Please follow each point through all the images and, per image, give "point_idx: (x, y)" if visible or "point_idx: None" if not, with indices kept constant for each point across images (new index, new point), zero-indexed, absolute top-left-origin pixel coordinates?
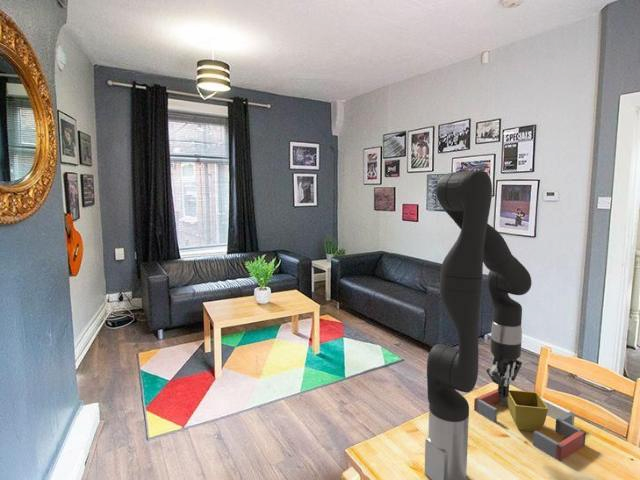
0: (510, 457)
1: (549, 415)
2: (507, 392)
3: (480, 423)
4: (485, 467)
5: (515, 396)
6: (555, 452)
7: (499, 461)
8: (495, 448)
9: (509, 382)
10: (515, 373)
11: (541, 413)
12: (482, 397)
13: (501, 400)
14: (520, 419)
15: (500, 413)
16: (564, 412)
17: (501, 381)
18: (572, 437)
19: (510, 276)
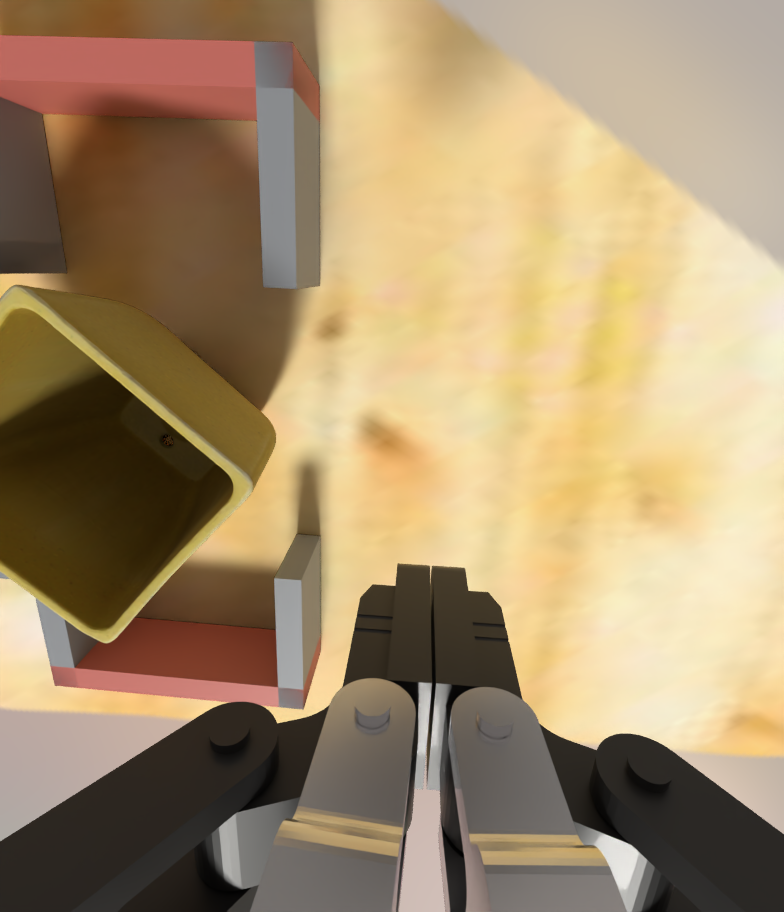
0: (552, 302)
1: None
2: (425, 601)
3: None
4: (765, 339)
5: (84, 569)
6: (308, 113)
7: (644, 320)
8: (545, 400)
9: (385, 719)
10: (118, 852)
11: (100, 321)
12: (246, 689)
13: None
14: (254, 420)
15: (211, 557)
16: None
17: (710, 849)
18: (85, 59)
19: None
